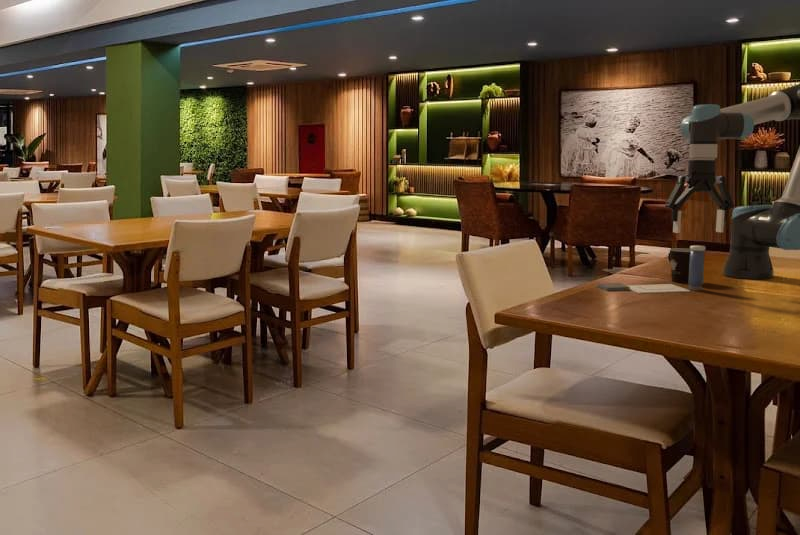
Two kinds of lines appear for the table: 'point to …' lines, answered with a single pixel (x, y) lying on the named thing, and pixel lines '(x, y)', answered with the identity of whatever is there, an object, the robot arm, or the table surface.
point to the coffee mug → (679, 264)
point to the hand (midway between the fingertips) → (697, 232)
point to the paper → (657, 288)
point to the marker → (696, 267)
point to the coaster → (613, 287)
